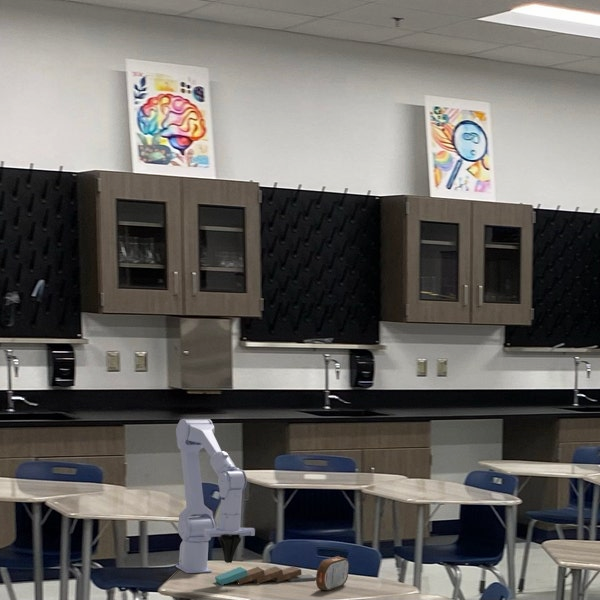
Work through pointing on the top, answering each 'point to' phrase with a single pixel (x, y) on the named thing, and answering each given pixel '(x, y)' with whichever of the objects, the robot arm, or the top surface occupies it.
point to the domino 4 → (302, 578)
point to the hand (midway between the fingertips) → (228, 562)
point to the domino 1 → (251, 575)
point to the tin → (332, 573)
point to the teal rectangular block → (231, 576)
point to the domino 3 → (288, 574)
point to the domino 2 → (269, 574)
